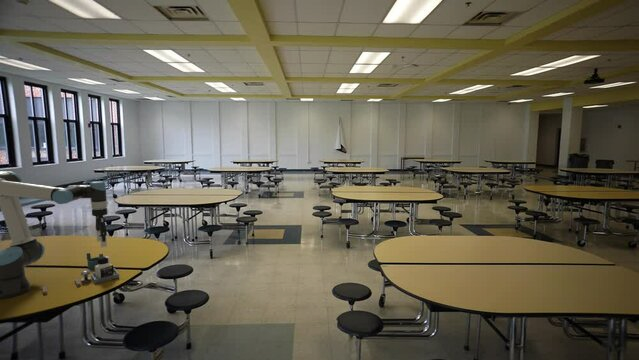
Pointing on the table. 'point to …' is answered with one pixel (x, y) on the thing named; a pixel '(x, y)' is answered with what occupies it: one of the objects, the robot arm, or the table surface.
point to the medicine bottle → (103, 267)
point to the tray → (99, 280)
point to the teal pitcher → (92, 261)
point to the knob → (85, 276)
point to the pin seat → (75, 281)
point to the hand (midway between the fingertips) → (101, 243)
